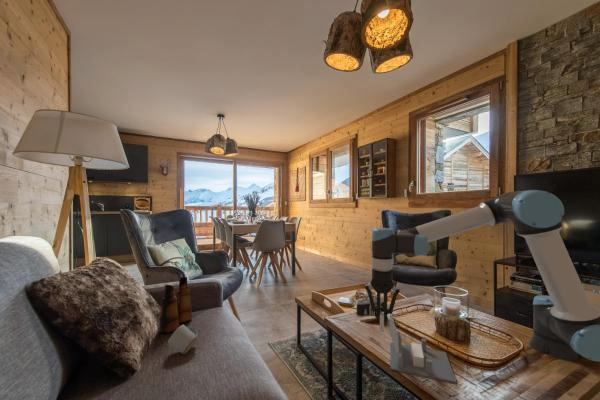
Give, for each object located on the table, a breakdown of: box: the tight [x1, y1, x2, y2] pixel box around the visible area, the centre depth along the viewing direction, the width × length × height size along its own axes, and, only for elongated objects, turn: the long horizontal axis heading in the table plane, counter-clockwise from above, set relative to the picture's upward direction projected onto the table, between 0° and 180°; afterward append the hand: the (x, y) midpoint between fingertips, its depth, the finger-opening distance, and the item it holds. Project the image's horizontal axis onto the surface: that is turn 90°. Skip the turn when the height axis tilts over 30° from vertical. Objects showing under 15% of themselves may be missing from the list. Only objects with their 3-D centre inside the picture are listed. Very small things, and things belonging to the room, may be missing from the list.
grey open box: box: [389, 330, 457, 384], centre depth 94 cm, size 20×17×6 cm
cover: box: [387, 314, 399, 354], centre depth 97 cm, size 9×14×1 cm
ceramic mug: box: [167, 324, 198, 355], centre depth 100 cm, size 11×8×8 cm
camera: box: [356, 295, 384, 319], centre depth 131 cm, size 16×9×10 cm, turn 104°
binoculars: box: [158, 276, 193, 334], centre depth 122 cm, size 18×8×20 cm, turn 169°
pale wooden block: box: [410, 342, 424, 368], centre depth 94 cm, size 3×9×3 cm, turn 161°
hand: (381, 330), depth 98 cm, fingers closed
